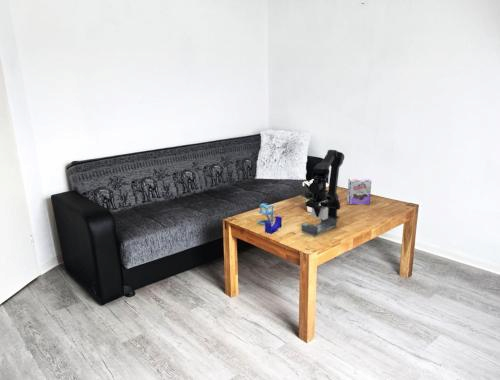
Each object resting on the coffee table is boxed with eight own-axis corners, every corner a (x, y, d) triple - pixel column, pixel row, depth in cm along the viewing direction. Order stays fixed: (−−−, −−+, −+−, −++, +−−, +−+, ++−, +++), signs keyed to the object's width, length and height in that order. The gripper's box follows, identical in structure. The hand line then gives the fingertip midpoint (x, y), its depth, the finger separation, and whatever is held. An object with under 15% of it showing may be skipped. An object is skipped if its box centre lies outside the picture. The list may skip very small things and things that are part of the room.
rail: (323, 222, 236) (323, 214, 234) (336, 226, 229) (336, 218, 228) (301, 232, 222) (301, 223, 221) (314, 236, 216) (314, 227, 215)
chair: (276, 222, 237) (276, 203, 234) (266, 226, 231) (266, 206, 228) (267, 219, 242) (267, 200, 239) (256, 223, 237) (256, 203, 234)
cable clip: (271, 234, 221) (271, 224, 219) (264, 232, 224) (264, 222, 222) (283, 227, 230) (283, 217, 228) (277, 225, 233) (277, 216, 231)
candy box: (348, 205, 265) (349, 180, 260) (346, 202, 271) (348, 178, 266) (369, 204, 265) (371, 180, 260) (367, 202, 270) (369, 178, 266)
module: (316, 214, 228) (316, 204, 226) (327, 218, 222) (328, 207, 221) (311, 216, 225) (311, 206, 224) (323, 220, 220) (323, 209, 218)
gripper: (319, 182, 231) (318, 208, 235) (297, 189, 219) (297, 216, 223) (335, 186, 223) (334, 212, 228) (314, 193, 211) (313, 221, 215)
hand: (319, 215), depth 224 cm, fingers closed on module, 4 cm apart
